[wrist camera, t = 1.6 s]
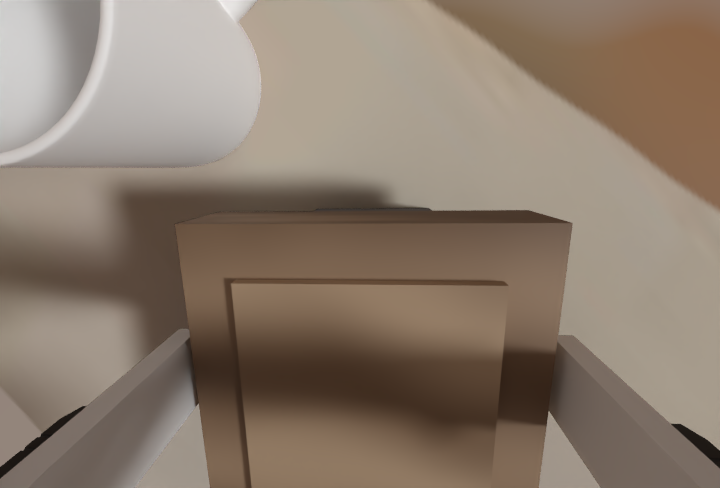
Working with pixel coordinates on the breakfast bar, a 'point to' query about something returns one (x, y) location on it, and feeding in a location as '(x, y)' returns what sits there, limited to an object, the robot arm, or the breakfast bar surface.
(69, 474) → the robot arm
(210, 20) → the cup
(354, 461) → the lid
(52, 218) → the breakfast bar surface
